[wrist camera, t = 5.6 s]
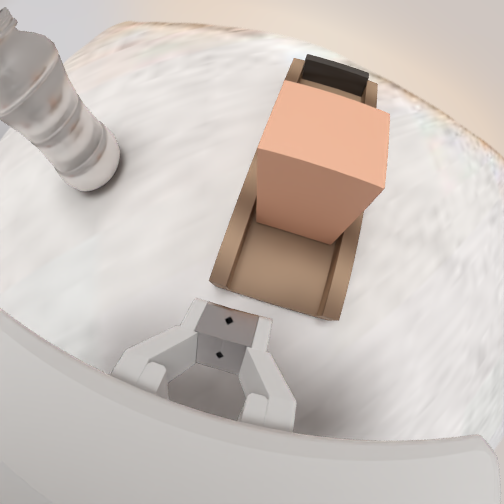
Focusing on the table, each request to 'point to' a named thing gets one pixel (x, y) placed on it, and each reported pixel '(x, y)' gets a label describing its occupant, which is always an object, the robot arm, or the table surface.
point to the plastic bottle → (52, 109)
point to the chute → (286, 243)
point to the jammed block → (319, 162)
